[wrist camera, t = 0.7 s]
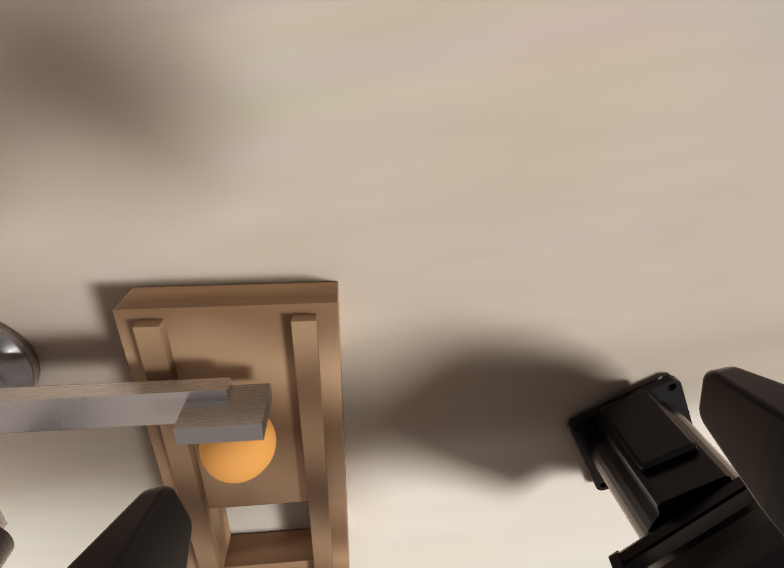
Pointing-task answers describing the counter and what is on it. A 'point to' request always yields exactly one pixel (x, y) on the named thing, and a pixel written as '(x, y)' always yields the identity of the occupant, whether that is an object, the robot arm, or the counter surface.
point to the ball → (238, 457)
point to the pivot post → (17, 360)
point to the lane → (287, 412)
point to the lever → (139, 412)
